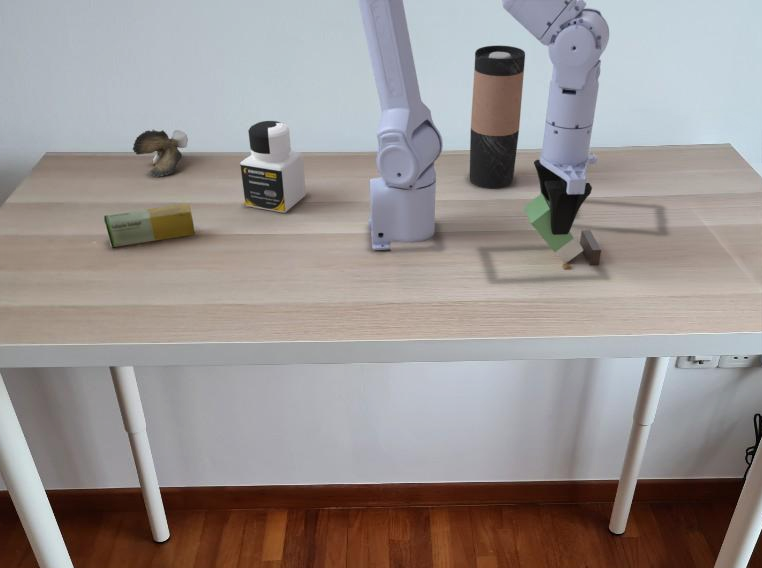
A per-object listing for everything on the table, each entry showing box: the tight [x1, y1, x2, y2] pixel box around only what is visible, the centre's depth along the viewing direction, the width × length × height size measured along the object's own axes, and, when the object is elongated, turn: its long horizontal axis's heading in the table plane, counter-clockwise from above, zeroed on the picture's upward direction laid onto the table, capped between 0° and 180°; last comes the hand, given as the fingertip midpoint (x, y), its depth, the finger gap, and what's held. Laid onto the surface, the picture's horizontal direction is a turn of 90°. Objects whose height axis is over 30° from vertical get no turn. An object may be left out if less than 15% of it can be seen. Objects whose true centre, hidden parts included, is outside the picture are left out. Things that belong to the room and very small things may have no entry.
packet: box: [523, 192, 583, 264], centre depth 107 cm, size 8×5×3 cm
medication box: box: [103, 203, 197, 249], centre depth 115 cm, size 12×3×4 cm, turn 108°
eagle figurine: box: [132, 129, 189, 178], centre depth 136 cm, size 8×7×9 cm
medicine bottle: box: [239, 120, 307, 214], centre depth 123 cm, size 7×7×12 cm
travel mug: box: [469, 45, 526, 189], centre depth 127 cm, size 8×8×20 cm
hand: (555, 224), depth 107 cm, fingers closed on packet, 5 cm apart
